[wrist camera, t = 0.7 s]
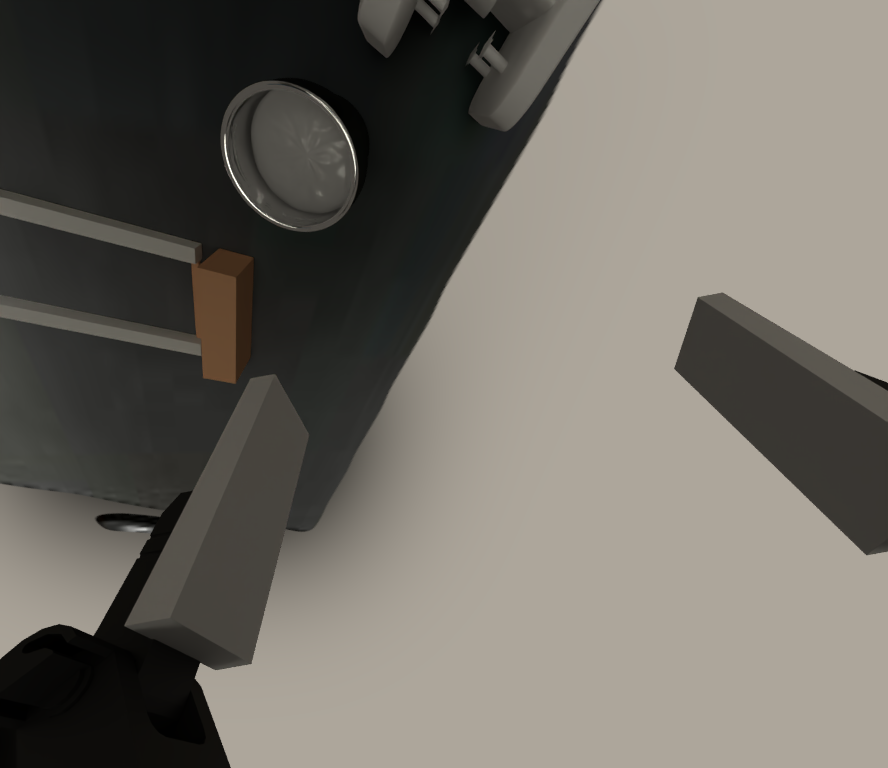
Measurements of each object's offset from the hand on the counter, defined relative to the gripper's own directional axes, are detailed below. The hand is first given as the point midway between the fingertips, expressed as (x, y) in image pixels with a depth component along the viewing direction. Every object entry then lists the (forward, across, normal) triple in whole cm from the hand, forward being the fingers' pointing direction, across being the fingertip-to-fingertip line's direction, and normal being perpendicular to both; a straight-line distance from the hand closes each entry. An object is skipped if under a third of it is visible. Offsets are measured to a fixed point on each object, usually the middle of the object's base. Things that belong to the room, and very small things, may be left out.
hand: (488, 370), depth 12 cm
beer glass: (+28, -7, +5) cm, 29 cm away
